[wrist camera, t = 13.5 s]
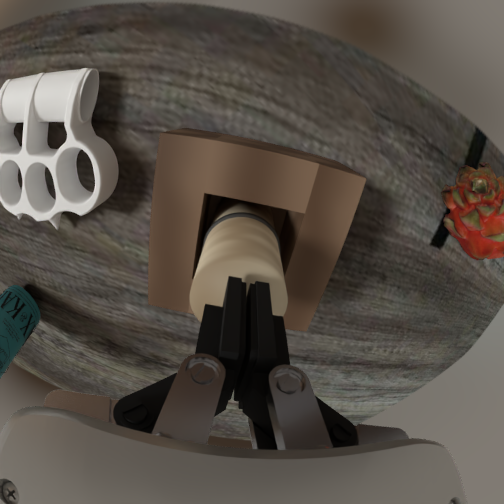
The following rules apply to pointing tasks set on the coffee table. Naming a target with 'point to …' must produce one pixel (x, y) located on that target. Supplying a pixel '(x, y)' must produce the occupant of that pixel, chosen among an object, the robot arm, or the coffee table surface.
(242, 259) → the peg
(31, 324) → the beverage bottle
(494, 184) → the dragon fruit
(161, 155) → the socket block
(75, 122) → the knuckle duster
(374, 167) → the coffee table surface
